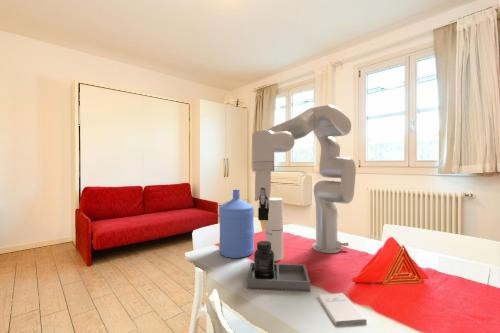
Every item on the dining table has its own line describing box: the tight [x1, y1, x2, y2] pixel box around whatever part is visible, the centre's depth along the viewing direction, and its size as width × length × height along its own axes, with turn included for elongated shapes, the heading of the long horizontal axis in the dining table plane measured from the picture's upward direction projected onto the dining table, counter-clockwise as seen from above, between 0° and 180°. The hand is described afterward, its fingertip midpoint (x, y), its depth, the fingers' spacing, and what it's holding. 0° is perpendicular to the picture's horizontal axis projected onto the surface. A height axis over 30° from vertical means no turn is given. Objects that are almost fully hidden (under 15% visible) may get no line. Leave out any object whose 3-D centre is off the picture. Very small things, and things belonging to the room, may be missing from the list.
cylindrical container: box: [265, 197, 284, 262], centre depth 104 cm, size 7×7×25 cm
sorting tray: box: [246, 262, 311, 292], centre depth 85 cm, size 20×13×3 cm, turn 85°
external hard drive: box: [317, 292, 368, 326], centre depth 68 cm, size 2×8×12 cm
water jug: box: [218, 189, 255, 259], centre depth 110 cm, size 16×16×28 cm
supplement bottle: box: [253, 240, 275, 279], centre depth 85 cm, size 7×7×12 cm
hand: (263, 216), depth 85 cm, fingers open, 9 cm apart
